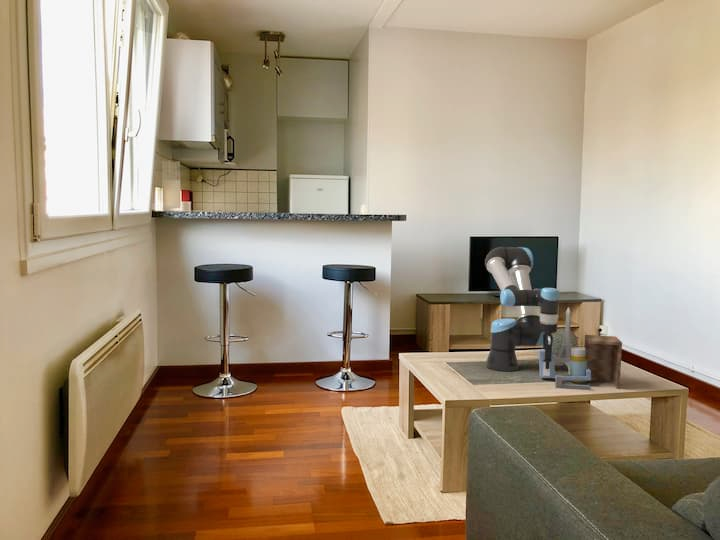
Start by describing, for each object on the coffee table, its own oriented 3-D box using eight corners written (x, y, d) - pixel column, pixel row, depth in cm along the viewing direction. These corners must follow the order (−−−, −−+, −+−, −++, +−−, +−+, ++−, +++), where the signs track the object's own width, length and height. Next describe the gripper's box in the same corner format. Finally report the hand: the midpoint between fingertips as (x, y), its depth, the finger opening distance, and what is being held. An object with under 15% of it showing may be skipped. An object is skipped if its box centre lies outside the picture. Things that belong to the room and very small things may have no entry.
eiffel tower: (546, 369, 283) (549, 307, 280) (558, 364, 293) (561, 304, 290) (573, 374, 274) (576, 310, 271) (584, 369, 284) (588, 307, 281)
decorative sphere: (549, 359, 302) (550, 330, 301) (544, 352, 317) (546, 325, 315) (579, 360, 300) (581, 331, 298) (573, 354, 314) (575, 326, 313)
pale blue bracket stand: (541, 380, 258) (540, 353, 257) (539, 374, 268) (538, 348, 267) (590, 380, 254) (590, 353, 253) (586, 373, 264) (586, 347, 263)
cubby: (587, 386, 254) (589, 340, 252) (582, 378, 266) (585, 334, 265) (619, 389, 251) (622, 342, 249) (613, 380, 264) (615, 336, 262)
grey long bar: (555, 387, 251) (556, 376, 251) (555, 386, 254) (555, 375, 253) (590, 390, 248) (591, 379, 248) (589, 389, 251) (590, 377, 250)
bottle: (584, 378, 264) (583, 346, 263) (589, 383, 257) (588, 349, 256) (568, 379, 265) (567, 346, 263) (573, 383, 258) (572, 350, 256)
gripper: (559, 327, 252) (557, 380, 255) (555, 319, 269) (552, 369, 272) (541, 326, 254) (539, 378, 256) (538, 318, 271) (535, 368, 273)
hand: (546, 374), depth 264 cm, fingers closed on pale blue bracket stand, 4 cm apart
